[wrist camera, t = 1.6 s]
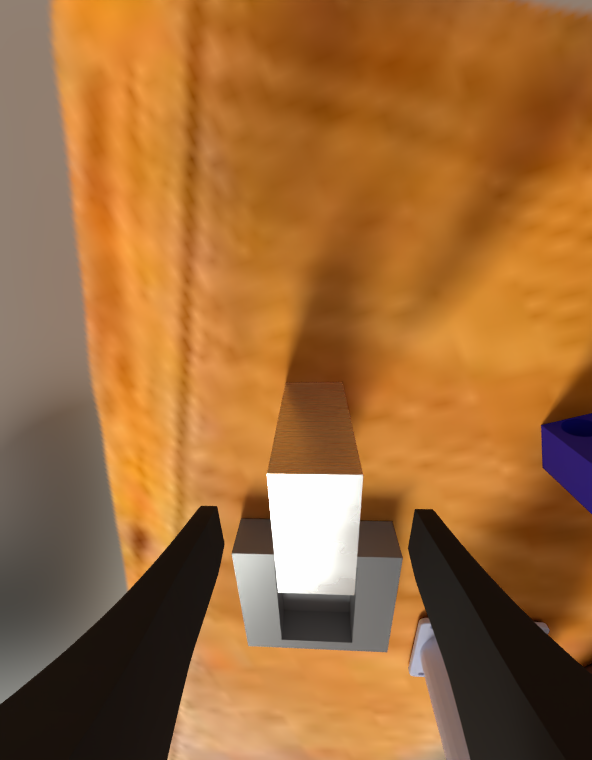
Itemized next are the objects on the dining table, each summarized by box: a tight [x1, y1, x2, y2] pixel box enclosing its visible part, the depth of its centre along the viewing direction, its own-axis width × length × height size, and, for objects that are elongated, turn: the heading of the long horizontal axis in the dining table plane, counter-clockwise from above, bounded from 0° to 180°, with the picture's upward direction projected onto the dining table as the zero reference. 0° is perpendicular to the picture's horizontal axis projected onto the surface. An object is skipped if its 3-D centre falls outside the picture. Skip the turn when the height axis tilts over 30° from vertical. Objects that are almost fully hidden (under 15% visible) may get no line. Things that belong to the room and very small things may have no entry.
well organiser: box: [232, 519, 403, 652], centre depth 20 cm, size 10×10×2 cm
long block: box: [267, 382, 363, 595], centre depth 14 cm, size 3×6×7 cm, turn 2°
